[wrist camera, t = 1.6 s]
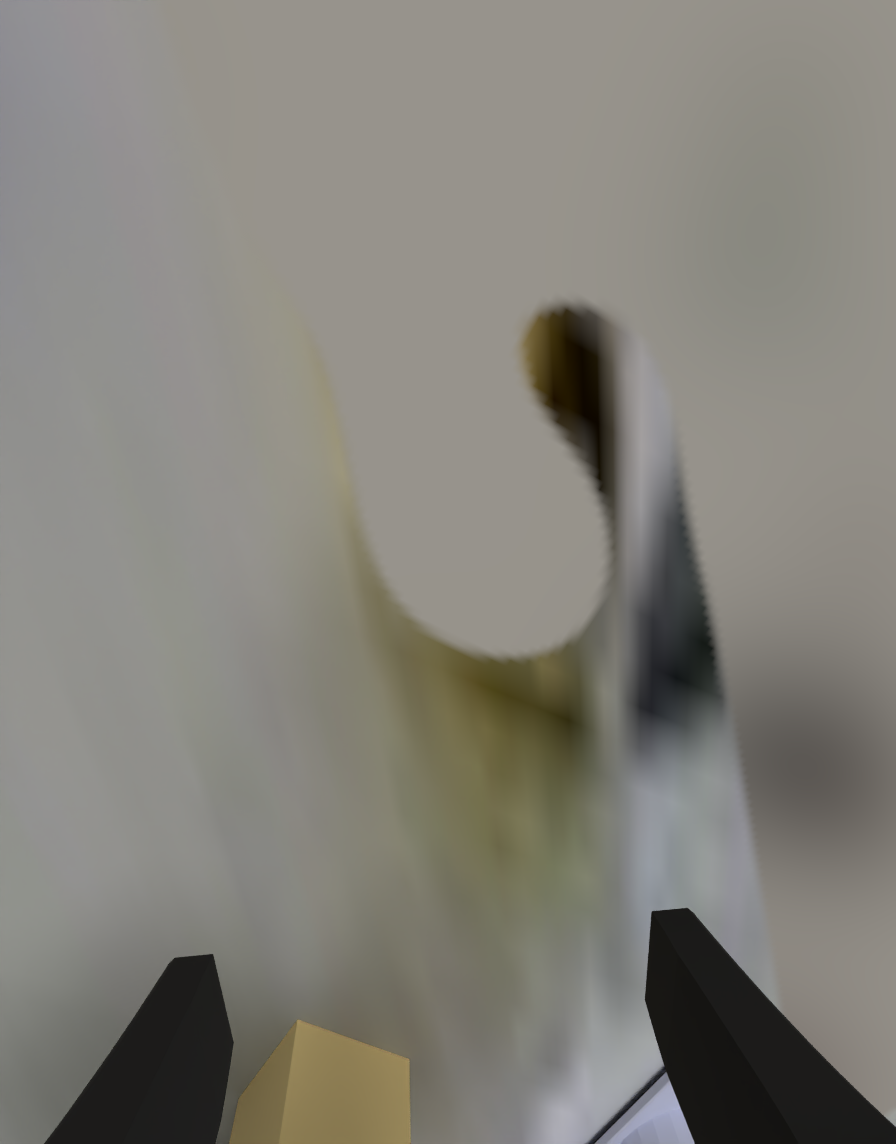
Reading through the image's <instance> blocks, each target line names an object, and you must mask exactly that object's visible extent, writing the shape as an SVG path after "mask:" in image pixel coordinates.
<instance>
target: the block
mask: <svg viewBox="0 0 896 1144" xmlns="http://www.w3.org/2000/svg"><path fill="white" fill-rule="evenodd" d="M229 1144H411V1137H410V1069H409V1059H407V1058H404V1057H401V1056H399V1055H396V1054H393V1053H390V1052H387V1051H385V1050H382V1049H379V1048H376V1047H373V1046H371V1045H368V1044H365V1043H362V1042H359V1041H357V1040H354V1039H351V1038H348V1037H345V1036H343V1035H340V1034H337V1033H334V1032H331V1031H329V1030H326V1029H323V1028H320V1027H317V1026H315V1025H312V1024H309V1023H306V1022H303V1021H301V1020H297V1021H296V1022H295V1024H294V1025H293V1026H292V1028H291V1029H290V1030H289V1032H288V1033H287V1034H286V1036H285V1037H284V1038H283V1040H282V1041H281V1042H280V1044H279V1045H278V1046H277V1048H276V1049H275V1050H274V1052H273V1053H272V1054H271V1056H270V1057H269V1059H268V1060H267V1061H266V1063H265V1064H264V1065H263V1067H262V1068H261V1069H260V1071H259V1072H258V1073H257V1075H256V1076H255V1077H254V1079H253V1080H252V1081H251V1083H250V1084H249V1085H248V1087H247V1088H246V1089H245V1091H244V1092H243V1093H242V1095H241V1096H240V1097H239V1100H238V1104H237V1109H236V1114H235V1118H234V1123H233V1128H232V1133H231V1137H230V1142H229Z"/></svg>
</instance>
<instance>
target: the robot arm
mask: <svg viewBox="0 0 896 1144" xmlns="http://www.w3.org/2000/svg"><path fill="white" fill-rule="evenodd" d="M645 1002H646V1005H647V1009H648V1012H649V1016H650V1019H651V1023H652V1026H653V1029H654V1033H655V1036H656V1040H657V1043H658V1046H659V1050H660V1053H661V1056H662V1060H663V1063H664V1066H665V1069H666V1073H665V1074H664V1075H663V1076H662V1077H661V1078H660V1079H659V1080H658V1081H657V1082H656V1083H655V1084H654V1085H653V1086H652V1087H651V1088H650V1089H649V1090H648V1091H647V1092H646V1093H645V1094H644V1095H643V1096H642V1097H641V1098H640V1099H639V1100H638V1101H637V1102H636V1103H635V1104H634V1105H633V1106H632V1107H631V1108H630V1109H629V1110H628V1111H627V1112H626V1113H625V1114H624V1115H623V1116H622V1117H621V1118H620V1119H619V1120H618V1121H617V1122H616V1123H615V1124H614V1125H613V1126H612V1127H611V1128H610V1129H609V1130H608V1131H607V1132H606V1133H605V1134H604V1135H603V1136H602V1137H601V1138H600V1139H599V1140H598V1141H597V1142H596V1143H595V1144H896V1127H895V1126H894V1125H893V1124H892V1123H891V1122H890V1121H889V1120H888V1119H886V1118H885V1117H884V1116H883V1115H882V1114H881V1113H880V1112H879V1111H878V1110H877V1109H876V1108H875V1107H874V1106H873V1105H872V1104H870V1102H869V1101H867V1100H866V1099H865V1098H864V1097H863V1096H862V1095H861V1094H860V1093H859V1092H858V1091H857V1090H856V1089H855V1088H854V1087H853V1086H852V1085H851V1084H850V1083H849V1082H848V1081H847V1080H846V1079H845V1078H844V1077H843V1076H842V1075H841V1074H840V1073H839V1072H838V1071H837V1070H836V1069H835V1068H834V1067H833V1066H832V1065H831V1064H830V1063H829V1062H828V1061H827V1060H826V1059H825V1058H824V1057H823V1056H822V1055H821V1054H820V1053H819V1052H818V1051H817V1050H816V1049H815V1048H814V1047H813V1046H812V1045H811V1044H810V1043H809V1042H808V1041H807V1040H806V1039H805V1038H804V1036H803V1035H802V1034H801V1033H800V1032H799V1031H798V1030H797V1029H796V1028H795V1027H794V1026H793V1025H792V1024H791V1023H790V1022H789V1020H788V1019H787V1018H786V1017H785V1016H784V1015H783V1014H782V1013H781V1012H780V1011H779V1010H778V1009H777V1008H776V1007H775V1006H774V1005H773V1003H772V1002H771V1001H770V1000H769V999H768V998H767V997H766V996H765V995H764V994H763V992H762V991H761V990H760V989H759V988H758V987H757V986H756V985H755V984H754V983H753V981H752V980H751V979H750V978H749V977H748V976H747V975H746V973H745V972H744V971H743V970H742V969H741V968H740V967H739V966H738V964H737V963H736V962H735V961H734V960H733V959H732V958H731V956H730V955H729V954H728V953H727V952H726V951H725V950H724V948H723V947H722V946H721V945H720V944H719V943H718V941H717V940H716V939H715V938H714V937H713V935H712V934H711V933H710V932H709V931H708V930H707V928H706V927H705V926H704V925H703V924H702V923H701V921H700V920H699V919H698V918H697V917H696V915H695V914H694V913H693V912H692V911H691V910H689V909H688V908H682V909H672V910H661V911H652V914H651V927H650V940H649V954H648V967H647V980H646V993H645ZM232 1049H233V1038H232V1034H231V1030H230V1025H229V1021H228V1017H227V1012H226V1008H225V1004H224V999H223V995H222V991H221V986H220V982H219V978H218V973H217V969H216V965H215V960H214V956H213V954H209V955H199V956H188V957H178V958H174V959H173V960H172V961H171V962H170V963H169V964H168V966H167V968H166V969H165V971H164V972H163V974H162V975H161V977H160V978H159V980H158V981H157V983H156V984H155V986H154V988H153V989H152V991H151V992H150V994H149V995H148V997H147V998H146V1000H145V1001H144V1003H143V1004H142V1006H141V1007H140V1009H139V1010H138V1012H137V1013H136V1015H135V1016H134V1018H133V1019H132V1021H131V1022H130V1024H129V1025H128V1027H127V1028H126V1030H125V1031H124V1033H123V1034H122V1036H121V1037H120V1039H119V1040H118V1042H117V1043H116V1045H115V1046H114V1047H113V1049H112V1050H111V1052H110V1053H109V1055H108V1056H107V1058H106V1059H105V1061H104V1062H103V1063H102V1065H101V1066H100V1068H99V1069H98V1070H97V1072H96V1073H95V1075H94V1076H93V1077H92V1079H91V1080H90V1082H89V1083H88V1084H87V1086H86V1087H85V1089H84V1090H83V1092H82V1093H81V1094H80V1096H79V1097H78V1099H77V1100H76V1101H75V1103H74V1104H73V1106H72V1107H71V1108H70V1110H69V1111H68V1113H67V1114H66V1115H65V1117H64V1118H63V1119H62V1121H61V1122H60V1124H59V1125H58V1126H57V1128H56V1129H55V1130H54V1131H53V1133H52V1134H51V1135H50V1137H49V1138H48V1139H47V1141H46V1142H45V1143H44V1144H215V1142H216V1138H217V1134H218V1130H219V1126H220V1122H221V1117H222V1111H223V1106H224V1100H225V1094H226V1088H227V1082H228V1075H229V1069H230V1062H231V1056H232Z"/></svg>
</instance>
